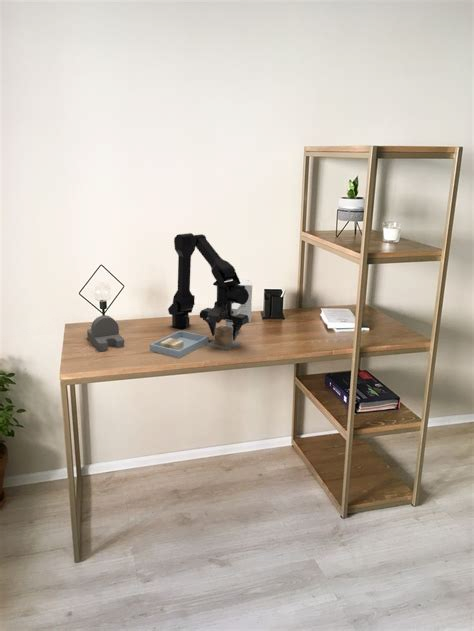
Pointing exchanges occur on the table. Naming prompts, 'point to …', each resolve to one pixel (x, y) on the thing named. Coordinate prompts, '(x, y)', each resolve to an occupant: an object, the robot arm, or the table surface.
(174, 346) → the birch box
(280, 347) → the table surface
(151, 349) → the parts bin
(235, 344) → the mat
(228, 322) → the ink box
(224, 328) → the walnut box
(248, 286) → the supplement box
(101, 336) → the bracket
